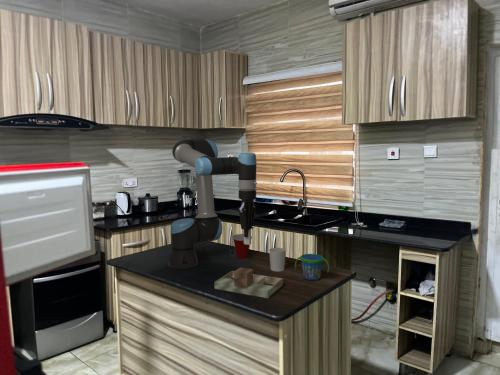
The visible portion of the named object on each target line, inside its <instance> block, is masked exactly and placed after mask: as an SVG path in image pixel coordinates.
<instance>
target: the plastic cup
mask: <svg viewBox="0 0 500 375" xmlns="http://www.w3.org/2000/svg"><path fill="white" fill-rule="evenodd" d="M232 239H233V243H234V244H233V245H234V249H235V254H236V259H239V260H245V259H247V258H248V256H249V250H250V246H251V244H250V245H248V244H244V233H238V234H234V235H232ZM252 239H253V236H252V235H251V240H252Z"/></svg>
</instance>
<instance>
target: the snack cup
mask: <svg viewBox="0 0 500 375" xmlns="http://www.w3.org/2000/svg"><path fill="white" fill-rule="evenodd" d="M298 260H300V262H301V266H302V267H301V268H302V269H301V270H302V276H303V278H304V279H305V280H307V281H318V280H320V279H321V274H322V269H323V268H322V267H323V264H324V262H325V263H326V265H327V274H329V271H330V264H329V261H328V259H326V258H324V256H322V255H321V254H318V253H304V254H301V255H300V256H299V257H297V258H296V260H295V263H294V269H295V271H297V270H298V266H297V261H298Z"/></svg>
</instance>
